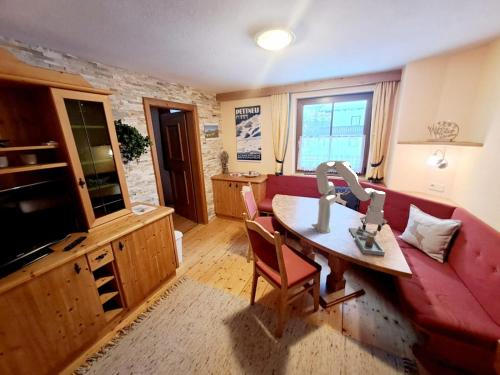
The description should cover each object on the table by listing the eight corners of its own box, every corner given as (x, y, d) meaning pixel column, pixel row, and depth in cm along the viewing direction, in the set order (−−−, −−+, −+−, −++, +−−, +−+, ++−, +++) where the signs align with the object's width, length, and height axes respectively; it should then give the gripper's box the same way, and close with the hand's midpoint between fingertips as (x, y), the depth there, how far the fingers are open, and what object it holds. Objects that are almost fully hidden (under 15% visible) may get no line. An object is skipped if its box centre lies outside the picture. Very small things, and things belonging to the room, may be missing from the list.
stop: (366, 247, 141) (368, 237, 138) (363, 243, 145) (365, 234, 143) (373, 248, 140) (375, 238, 138) (370, 244, 144) (372, 234, 142)
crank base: (353, 236, 156) (354, 233, 155) (348, 228, 169) (349, 225, 169) (372, 238, 153) (373, 235, 153) (366, 230, 167) (366, 227, 166)
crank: (356, 229, 161) (357, 224, 160) (360, 228, 163) (361, 222, 162) (373, 237, 149) (375, 231, 147) (377, 235, 151) (378, 230, 150)
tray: (363, 253, 135) (364, 249, 134) (355, 239, 153) (356, 235, 152) (384, 255, 132) (385, 251, 132) (373, 241, 150) (374, 237, 149)
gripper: (364, 209, 132) (359, 231, 137) (392, 211, 129) (386, 234, 134) (360, 205, 139) (356, 226, 144) (387, 207, 136) (382, 228, 141)
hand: (371, 229), depth 139 cm, fingers open, 9 cm apart
